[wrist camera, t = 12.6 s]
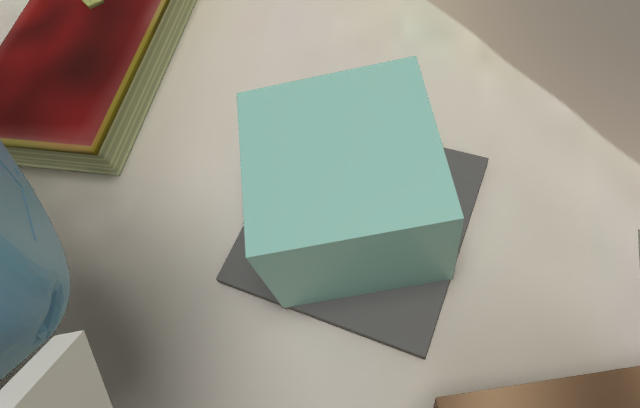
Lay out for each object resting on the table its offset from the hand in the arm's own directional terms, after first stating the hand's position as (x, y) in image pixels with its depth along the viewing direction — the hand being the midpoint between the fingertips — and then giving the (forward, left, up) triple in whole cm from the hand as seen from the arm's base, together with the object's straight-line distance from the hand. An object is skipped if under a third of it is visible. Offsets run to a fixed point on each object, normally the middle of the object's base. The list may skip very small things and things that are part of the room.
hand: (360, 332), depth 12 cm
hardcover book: (-29, +16, -15) cm, 36 cm away
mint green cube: (-5, +9, -14) cm, 17 cm away
